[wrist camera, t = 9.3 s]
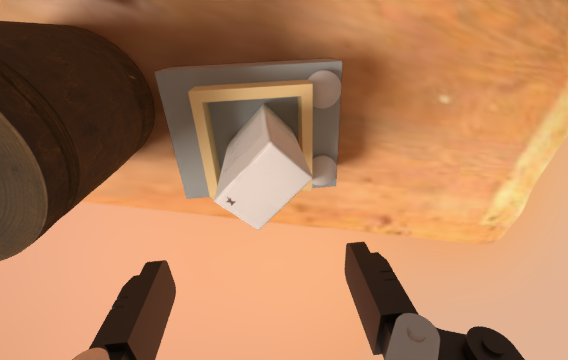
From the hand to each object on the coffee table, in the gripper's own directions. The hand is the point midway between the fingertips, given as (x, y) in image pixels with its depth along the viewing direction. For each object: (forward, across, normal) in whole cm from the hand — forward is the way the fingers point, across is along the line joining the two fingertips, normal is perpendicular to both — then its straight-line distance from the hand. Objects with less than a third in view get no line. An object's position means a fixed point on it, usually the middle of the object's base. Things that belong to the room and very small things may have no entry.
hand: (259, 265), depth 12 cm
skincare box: (+19, 0, 0) cm, 19 cm away
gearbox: (+24, 0, 0) cm, 24 cm away
